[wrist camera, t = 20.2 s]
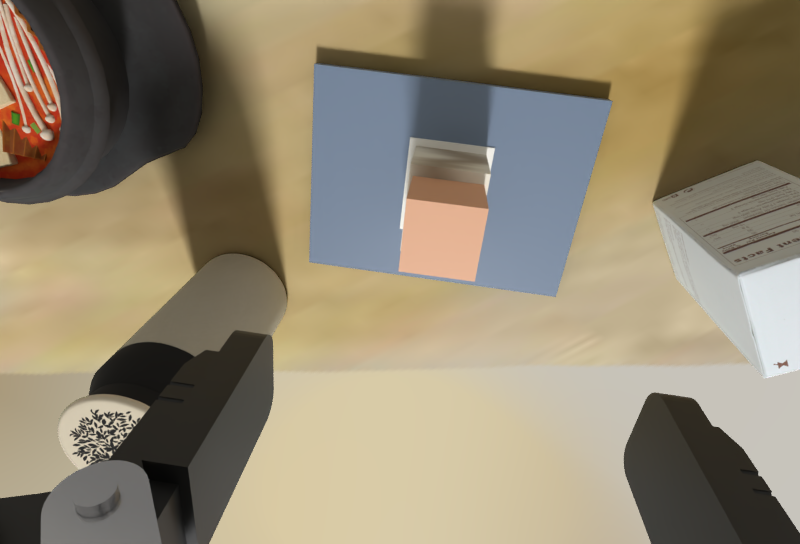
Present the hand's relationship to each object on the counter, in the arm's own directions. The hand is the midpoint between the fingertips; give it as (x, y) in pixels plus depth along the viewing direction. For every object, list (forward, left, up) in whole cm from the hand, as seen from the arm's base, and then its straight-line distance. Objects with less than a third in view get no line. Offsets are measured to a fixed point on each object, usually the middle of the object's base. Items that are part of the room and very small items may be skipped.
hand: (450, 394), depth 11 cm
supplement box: (-20, +4, -28) cm, 35 cm away
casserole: (+30, -1, -28) cm, 41 cm away
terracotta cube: (0, +4, -22) cm, 22 cm away
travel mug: (+16, +16, -28) cm, 36 cm away
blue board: (0, +4, -28) cm, 28 cm away
